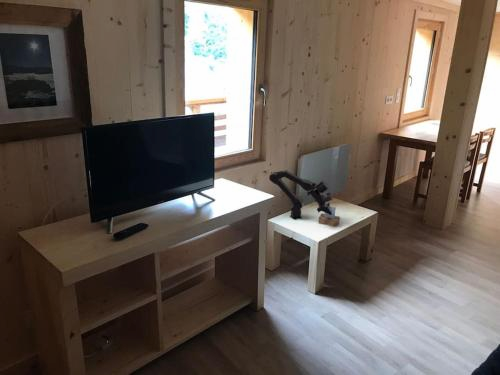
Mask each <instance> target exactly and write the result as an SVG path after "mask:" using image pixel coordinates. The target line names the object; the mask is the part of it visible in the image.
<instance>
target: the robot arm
mask: <svg viewBox="0 0 500 375" xmlns="http://www.w3.org/2000/svg"><path fill="white" fill-rule="evenodd" d="M268 178H269V181H270V182H271V183H273V184H275V185H276V186H277V187H278V188H280V190H281V191H282V192H283V193H284V195H286V196H287V197H288V198H289V200H290V201H291V203H292V206H291V207H290V215H289V218H291V219H293V220H299V219H302V218H303V217H302V208H303V206H304V205H305V201H304V198H302V197H301V196H300V195H299V196H298V195H296V194H295V193H294V192H293V190H291V189H290V188H289V186H288V185H287V184H286V183H285V182H284V181H283V178H286V179H288V180H290V181H291V182H294V183H295V184H297V185H299V186H300V187H301V188H302V189H303V190H304V191H306V192H307V194H306V195H307V196H309V195H310V196H311V198H313V200H314V202H315V203H317V208H316V211H317V213H321V212H323V213H328V214H330V215H332V213H331V212H330V210H329V208H328V206H330V205H331V202H330V201H332V200H333V199H334V198H333V194H332V193H331V192H327V193H326V194H325V195H324V194H323V193H324V192H326V191H327V190H328V189H330V187H329V185H328V183H327V182H325V181H323V180H321V181H320V182H318V183H315V182H312V181H311V180H309V179H304V178H301V177H299V176H298V175H295V174H294V173H292V172H290V171H288V170H287V169H284V170H279V171H273V172H271V174H270V175H269V177H268ZM330 207H331V206H330Z"/></svg>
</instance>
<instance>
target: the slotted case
mask: <svg viewBox="0 0 500 375" xmlns="http://www.w3.org/2000/svg"><path fill="white" fill-rule="evenodd" d="M340 219H341V218H340V216H338V215H335V219H332V218H327V217H324V213H321V212H320V215H319V217H318V224H319V225H324V226H325V225H326V226H330V227H335V228H337V227H338V225H339V223H340Z"/></svg>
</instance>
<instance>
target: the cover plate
mask: <svg viewBox="0 0 500 375" xmlns="http://www.w3.org/2000/svg"><path fill="white" fill-rule="evenodd" d="M328 208H329V210H330V212H331V213H332V215H330V214H328V213H325V212H323V214H324V217H327V218H332V219H335V216H336V207H335V206H328Z"/></svg>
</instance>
